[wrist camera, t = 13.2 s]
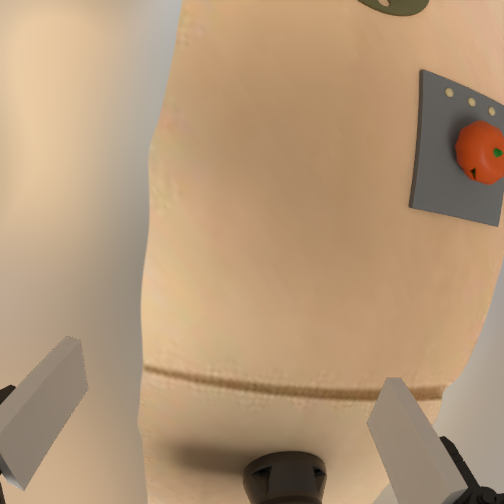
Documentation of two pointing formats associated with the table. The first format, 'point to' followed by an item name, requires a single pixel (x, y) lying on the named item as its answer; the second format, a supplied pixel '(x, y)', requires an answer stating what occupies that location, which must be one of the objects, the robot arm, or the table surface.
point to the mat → (452, 152)
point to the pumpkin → (481, 152)
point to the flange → (397, 6)
